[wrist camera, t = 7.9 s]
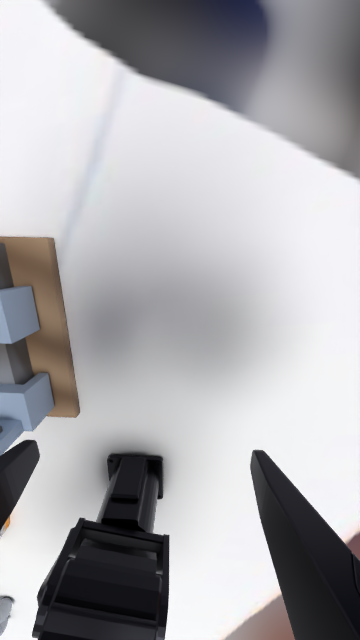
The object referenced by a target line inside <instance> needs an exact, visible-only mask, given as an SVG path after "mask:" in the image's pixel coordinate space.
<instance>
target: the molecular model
mask: <svg viewBox="0 0 360 640" xmlns="http://www.w3.org/2000/svg"><path fill="white" fill-rule="evenodd" d="M11 608H12V601H11V599H10V598H4V599H2V600H0V636H1V635H2V633H3V632H4V630H5V628H6V626H7V623H8V615H9V613H10V611H11Z"/></svg>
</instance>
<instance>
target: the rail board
mask: <svg viewBox="0 0 360 640" xmlns="http://www.w3.org/2000/svg"><path fill="white" fill-rule="evenodd" d="M18 286H31V287H32V292H33V297H34V302H35V307H36V312H37V317H38V322H39V327H40V330H38V331H36V332H34V333H32V334H30V335H28V336H26V337H24V338H22V339H20V340H18V341H16V342H14V343H12V344H4V343H0V384H19V385H24V384H25V383H27V382H28V381H29V380H30V379H32V378H33V377H34V376H35V375H37V374H38V373H48V375H49V380H50V386H51V391H52V396H53V401H54V406H55V407H54V408H53V409H52V410H51V411H50V412H49V413H48V415H47V416H52V417H74V418H76V417H77V416H78V414H79V413H80V409H79V403H78V396H77V389H76V383H75V376H74V370H73V363H72V357H71V350H70V344H69V337H68V330H67V324H66V317H65V311H64V304H63V298H62V291H61V284H60V278H59V271H58V265H57V258H56V252H55V245H54V239H53V238H30V237H0V290H1V289H7V288H12V287H18Z"/></svg>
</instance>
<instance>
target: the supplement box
mask: <svg viewBox="0 0 360 640" xmlns="http://www.w3.org/2000/svg"><path fill="white" fill-rule="evenodd" d="M8 526H9V517H8V519H7V521H6V522H5V524H4V526H3V527H2V529H1V531H0V538H1V537H2V535H3V533H4V532H5V530H6V529H7V527H8Z"/></svg>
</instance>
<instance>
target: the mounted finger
mask: <svg viewBox="0 0 360 640" xmlns="http://www.w3.org/2000/svg"><path fill="white" fill-rule="evenodd" d="M54 407H55V406H54V401H53V396H52V391H51V386H50V380H49V375H48V373H38V374H37V375H35V376H34V377H33V378H32V379H30V380H29V381H28V382H27V383H25V384H24V385H19V384H0V456H1V455H2V454H3V453H4V452H5V451H6V450H7V449H8V447H9V446H10V445H11V444H12V443H13V442H14V441H15V440H16V439H17V438H18V437H19V436H20V435H21V434H22V432H23V431H33V430H34V429H35V428H36V427H37V426H38V425H39V424H40V422H41V421H42V420H43V419H44V418H45V417H46V416H47V415H48V413H49V412H50V411H51V410H52V409H53V408H54Z"/></svg>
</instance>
